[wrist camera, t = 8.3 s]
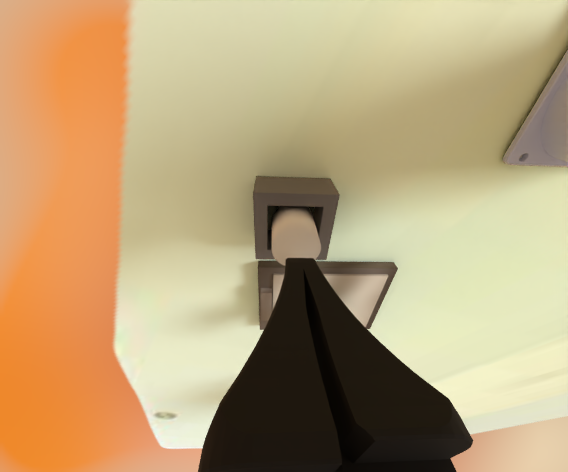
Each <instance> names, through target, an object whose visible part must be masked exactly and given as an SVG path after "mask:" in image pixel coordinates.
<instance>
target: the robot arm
mask: <svg viewBox="0 0 568 472" xmlns="http://www.w3.org/2000/svg"><path fill="white" fill-rule="evenodd" d="M521 155H522V156H521ZM520 156H521V157H520ZM503 162H504V163H507V164H510V165H531V166H559V167H568V50H567V52H566V53H565V55H564V57H563V58H562V60H561V62H560V63H559V65H558V67H557V68H556V70H555V72H554V73H553V75H552V77H551V78H550V80H549V82H548V83H547V85H546V87H545V88H544V90H543V92H542V93H541V95H540V97H539V98H538V100H537V102H536V103H535V105H534V107H533V108H532V110H531V112H530V113H529V115H528V117H527V118H526V120H525V121H524V123H523V125H522V126H521V128H520V130H519V131H518V133H517V135H516V136H515V138H514V140H513V141H512V143H511V145H510V146H509V148H508V150H507V151H506V153H505V155H504V157H503ZM472 442H473V439H472V438H471V436H470V434H469V432H468V430H467V429H466V427H465V425H464V423H463V421H462V419H461V417H460V416H459V414H458V412H457V411H456V409H455V408H454V406H453V405H452V403H451V401H450V400H449V399H448V398H447V397H446V396H444V395H443V394H442V393H440V392H439V391H438V390H436V389H435V388H434V387H433V386H431V385H430V384H429V383H427V382H426V381H425V380H423V379H422V378H421V377H419V376H418V375H417V374H416V373H414V372H413V371H412V370H411V369H410V368H408V367H407V366H406V365H405V364H404V363H402V362H401V361H400V360H399V359H398V358H397V357H396V356H395V355H393V354H392V353H391V352H390V351H389V350H388V349H387V348H386V347H385V346H384V345H383V344H382V343H380V342H379V341H378V340H377V339H376V338H375V337H374V336H373V335H372V334H371V333H370V332H369V331H368V330H367V329H366V328H365V327H364V326H363V325H362V323H361V322H360V321H359V320H358V319H357V318H356V317H355V316H354V315H353V313H352V312H351V311H350V310H349V309H348V307H347V306H346V305H345V304H344V302H343V301H342V300H341V299H340V297H339V296H338V295H337V293H336V292H335V291H334V289H333V288H332V286H331V285H330V284H329V282H328V281H327V279H326V278H325V276H324V274H323V273H322V271H321V270H320V268H319V266H318V265H317V263H316V261H315V260H314V258H287V259H286V261H285V274H284V279H283V282H282V286H281V289H280V293H279V295H278V298H277V301H276V304H275V306H274V309H273V311H272V314H271V316H270V318H269V320H268V323H267V325H266V327H265V329H264V331H263V333H262V335H261V337H260V339H259V341H258V343H257V344H256V346H255V348H254V350H253V352H252V353H251V355H250V357H249V358H248V360H247V362H246V363H245V365H244V367H243V368H242V370H241V372H240V373H239V375H238V377H237V378H236V380H235V381H234V383H233V384H232V386H231V387H230V389H229V390H228V392H227V393H226V395H225V396H224V398H223V399H222V401H221V402H220V404H219V407H218V409H217V411H216V413H215V416H214V418H213V420H212V423H211V425H210V428H209V430H208V433H207V435H206V438H205V442H204V445H203V449H202V454H201V459H200V464H199V470H198V472H456V470H455V468H454V465H453V463H452V461H451V459H450V458H451V457H453V456H455V455H457V454H460V453H462V452H464V451H466V450H467V449H469V448H470V447H471V445H472Z"/></svg>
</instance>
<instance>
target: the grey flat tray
mask: <svg viewBox="0 0 568 472" xmlns="http://www.w3.org/2000/svg"><path fill="white" fill-rule="evenodd" d="M316 263H317V265H318V266H319V268H320V270H321V271H322V273H323V274H324V276H325V278H326V279H327V281H328V282H329V284H330V285H331V286H332V288H333V289H334V291H335V292H336V293H337V295H338V296H339V297H340V299H341V300H342V301H343V302H344V304H345V305H346V306H347V307H348V309H349V310H350V311H351V312H352V313H353V315H354V316H355V317H356V318H357V319H358V320H359V321H360V322H361V323H362V325H363V326H364V327H365V328H366V329H370V327H371V325H372V323H373V321H374V319H375V317H376V314H377V312H378V310H379V308H380V306H381V304H382V302H383V299H384V297H385V295H386V293H387V291H388V289H389V286H390V284H391V282H392V280H393V278H394V276H395V274H396V271H397V269H398V268H397V267H396V265H395V264H394V262H316ZM284 274H285V266H284V265H282V264H280V263H279V262H278V261H259V262H258V282H259V315H260V330H264V329H265V327H266V325H267V323H268V320H269V318H270V316H271V314H272V311H273V309H274V306H275V304H276V301H277V298H278V295H279V293H280V289H281V286H282V282H283V279H284Z"/></svg>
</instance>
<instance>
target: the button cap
mask: <svg viewBox="0 0 568 472" xmlns="http://www.w3.org/2000/svg"><path fill="white" fill-rule="evenodd" d="M320 251H321V243H320V239H319V236H318V233H317V229H316V226H315V222H314V219H313V215H312V212H311V210H310V209H309V208H308V207H307V206H279V207H278V208H277V209H276V210H275V212H274V214H273V217H272V254H273V256H274V258H275V259H276V261H278V262H279V263H280V264H282V265H284V266H285V261H286V259H287V258H314V260H315V259H316V258H317V257H318V255H319V253H320Z"/></svg>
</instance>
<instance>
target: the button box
mask: <svg viewBox="0 0 568 472" xmlns="http://www.w3.org/2000/svg"><path fill="white" fill-rule="evenodd" d="M253 200H254V227H255V253H256V259H275V258H274V256H273V254H272V229H268V205H272V206H314V207H315V208H314V215H313V219H314V222H315V226H316V229H317V233H318V236H319V239H320V243H321V251H320V253H319V255H318V257H317V258H316V259H315V260H326V258H327V253H328V249H329V244H330V239H331V234H332V229H333V224H334V219H335V214H336V210H337V205H338V200H339V193H338V191H337V190H336V188H335V186H334V184H333V183H332V181H331V179H325V178H293V177H261V176H256V180H255V186H254V191H253Z"/></svg>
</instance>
